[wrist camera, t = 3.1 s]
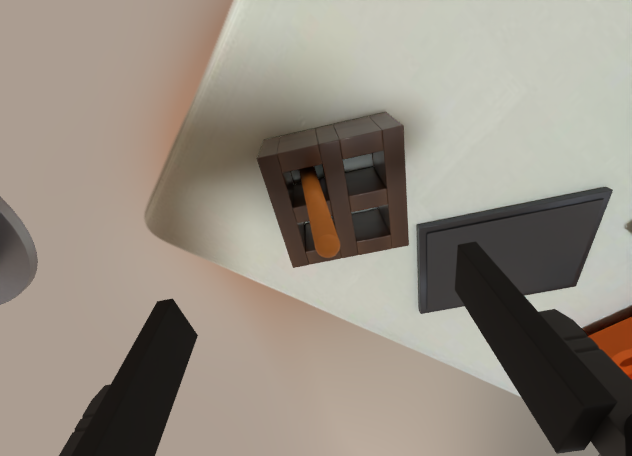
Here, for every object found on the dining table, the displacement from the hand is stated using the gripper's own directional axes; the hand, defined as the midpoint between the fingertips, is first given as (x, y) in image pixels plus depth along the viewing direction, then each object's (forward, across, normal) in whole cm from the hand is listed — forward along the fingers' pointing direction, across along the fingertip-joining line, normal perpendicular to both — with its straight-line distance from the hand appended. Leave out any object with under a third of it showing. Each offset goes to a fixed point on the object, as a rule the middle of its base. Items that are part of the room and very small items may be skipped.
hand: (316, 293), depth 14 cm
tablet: (+17, +20, -16) cm, 31 cm away
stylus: (+17, 0, 0) cm, 17 cm away
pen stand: (+17, +2, -2) cm, 17 cm away
